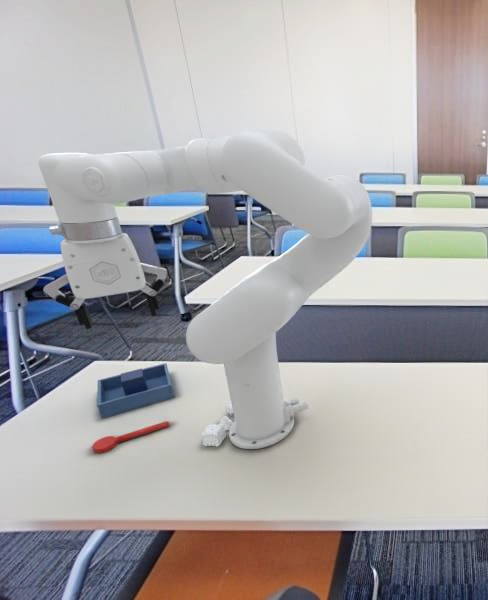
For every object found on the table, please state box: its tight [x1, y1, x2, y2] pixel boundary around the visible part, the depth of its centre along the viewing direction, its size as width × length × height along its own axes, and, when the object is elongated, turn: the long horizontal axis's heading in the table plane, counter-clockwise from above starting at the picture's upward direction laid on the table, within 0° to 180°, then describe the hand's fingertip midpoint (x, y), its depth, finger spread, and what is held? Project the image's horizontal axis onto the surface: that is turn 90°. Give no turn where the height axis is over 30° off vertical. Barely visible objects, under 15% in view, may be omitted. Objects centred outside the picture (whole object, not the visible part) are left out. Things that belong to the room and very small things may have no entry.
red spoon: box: [91, 421, 170, 454], centre depth 80 cm, size 12×4×1 cm, turn 128°
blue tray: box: [96, 362, 176, 419], centre depth 92 cm, size 13×11×4 cm
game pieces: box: [200, 400, 234, 447], centre depth 84 cm, size 12×3×3 cm, turn 1°
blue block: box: [120, 368, 148, 396], centre depth 92 cm, size 4×4×5 cm
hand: (122, 319), depth 75 cm, fingers open, 9 cm apart
